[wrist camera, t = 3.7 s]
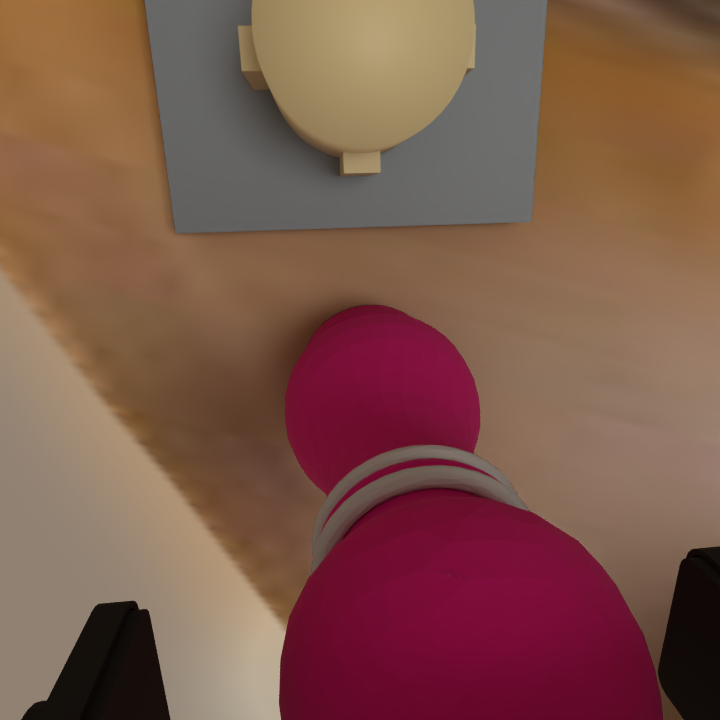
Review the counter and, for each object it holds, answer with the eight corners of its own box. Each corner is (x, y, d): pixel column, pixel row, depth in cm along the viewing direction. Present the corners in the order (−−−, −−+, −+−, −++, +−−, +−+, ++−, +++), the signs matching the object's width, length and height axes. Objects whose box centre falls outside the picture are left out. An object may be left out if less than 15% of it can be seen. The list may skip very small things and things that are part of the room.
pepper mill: (263, 402, 24) (48, 1222, 5) (337, 263, 22) (451, 676, 3) (398, 464, 25) (637, 1273, 6) (476, 338, 24) (1121, 923, 5)
